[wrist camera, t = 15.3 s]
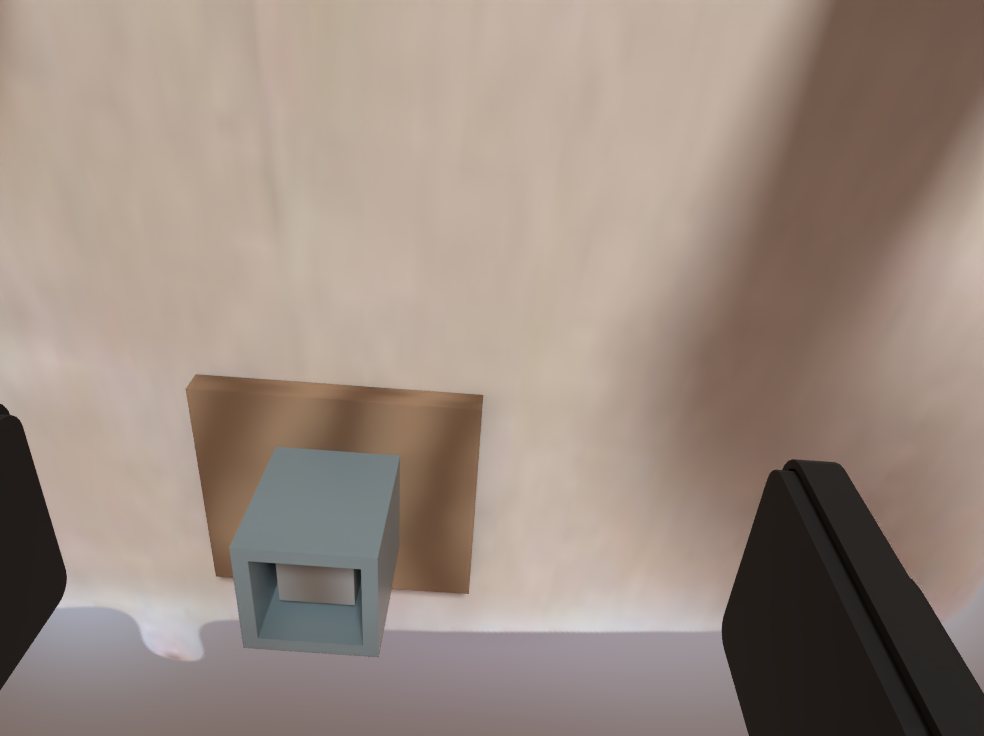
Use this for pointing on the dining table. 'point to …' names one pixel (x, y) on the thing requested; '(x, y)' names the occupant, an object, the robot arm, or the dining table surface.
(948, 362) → the dining table surface
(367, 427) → the base
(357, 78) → the dining table surface
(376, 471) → the duct sleeve
